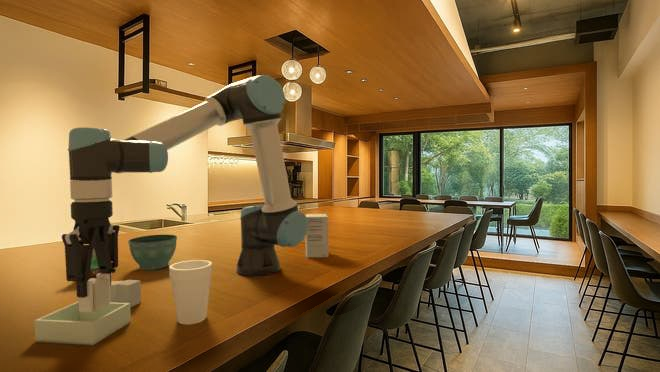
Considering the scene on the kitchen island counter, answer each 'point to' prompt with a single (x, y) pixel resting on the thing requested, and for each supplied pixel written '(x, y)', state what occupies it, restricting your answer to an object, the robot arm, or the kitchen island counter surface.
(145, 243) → the flower pot
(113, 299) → the stone
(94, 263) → the food container
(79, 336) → the bin
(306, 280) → the kitchen island counter surface
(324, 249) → the supplement box
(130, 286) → the stone
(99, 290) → the stone
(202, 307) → the foam cup
